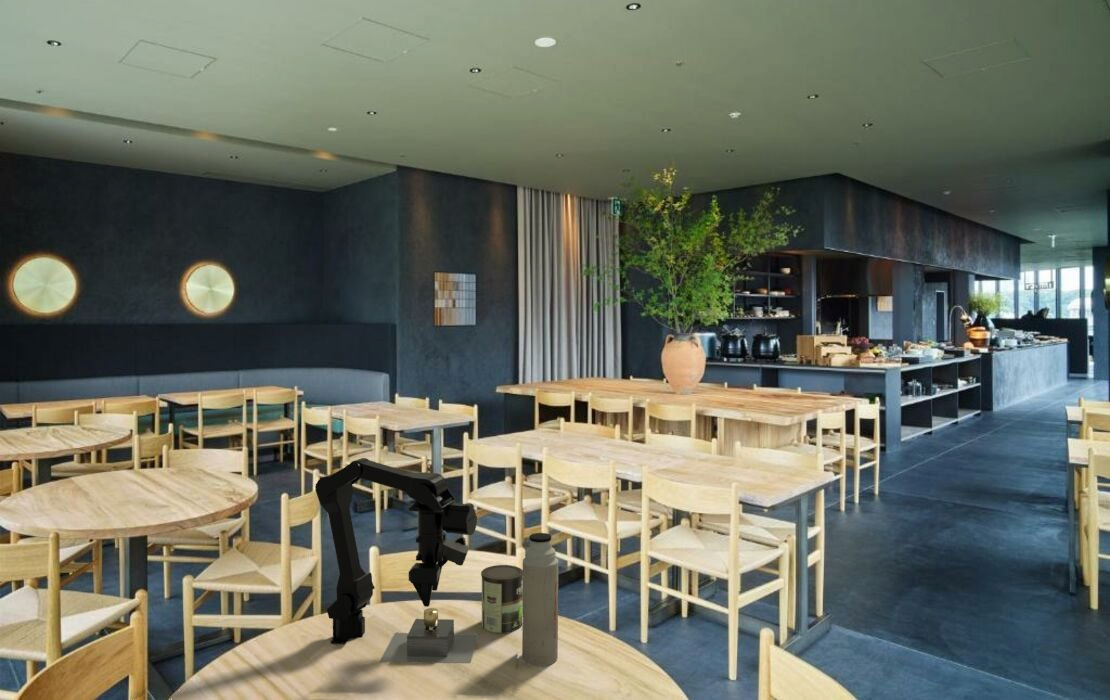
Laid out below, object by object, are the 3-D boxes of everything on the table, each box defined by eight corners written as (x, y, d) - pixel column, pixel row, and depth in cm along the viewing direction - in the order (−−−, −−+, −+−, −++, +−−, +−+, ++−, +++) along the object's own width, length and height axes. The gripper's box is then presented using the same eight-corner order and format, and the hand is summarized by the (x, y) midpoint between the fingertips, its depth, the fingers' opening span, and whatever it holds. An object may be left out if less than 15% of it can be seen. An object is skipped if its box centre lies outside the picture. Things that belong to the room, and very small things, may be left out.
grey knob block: (407, 656, 159) (406, 636, 159) (415, 638, 168) (415, 618, 168) (447, 657, 159) (447, 636, 159) (453, 638, 168) (453, 619, 168)
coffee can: (524, 619, 182) (524, 564, 181) (521, 637, 171) (521, 579, 171) (483, 618, 182) (483, 564, 181) (478, 636, 171) (478, 579, 171)
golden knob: (421, 650, 162) (421, 614, 162) (424, 642, 166) (424, 607, 165) (437, 650, 162) (437, 614, 161) (440, 642, 166) (440, 607, 165)
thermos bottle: (560, 651, 164) (561, 531, 163) (553, 668, 157) (554, 541, 155) (526, 647, 166) (527, 528, 165) (518, 664, 158) (519, 539, 157)
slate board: (379, 665, 157) (379, 661, 157) (395, 637, 171) (395, 632, 171) (470, 667, 157) (470, 662, 157) (478, 638, 171) (478, 634, 171)
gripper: (459, 544, 153) (459, 615, 154) (471, 519, 172) (471, 583, 172) (407, 543, 153) (408, 615, 154) (425, 518, 172) (425, 582, 173)
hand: (430, 598), depth 163 cm, fingers open, 9 cm apart
